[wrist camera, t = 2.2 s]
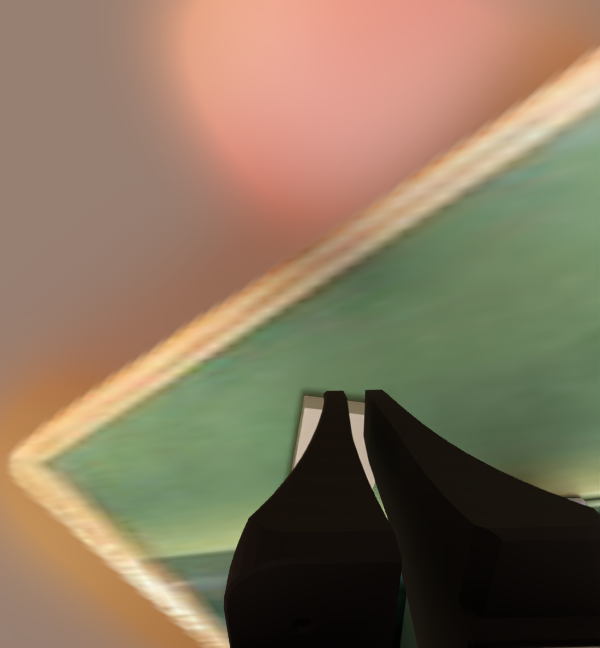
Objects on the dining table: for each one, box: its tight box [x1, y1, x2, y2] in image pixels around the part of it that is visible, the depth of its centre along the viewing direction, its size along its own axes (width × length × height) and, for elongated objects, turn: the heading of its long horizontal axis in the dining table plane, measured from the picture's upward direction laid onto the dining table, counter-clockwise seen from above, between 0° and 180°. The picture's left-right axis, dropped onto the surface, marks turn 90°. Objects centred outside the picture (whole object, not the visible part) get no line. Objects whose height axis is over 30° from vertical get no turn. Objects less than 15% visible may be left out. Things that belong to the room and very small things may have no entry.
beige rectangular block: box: [291, 395, 375, 490], centre depth 24 cm, size 6×14×2 cm, turn 172°
